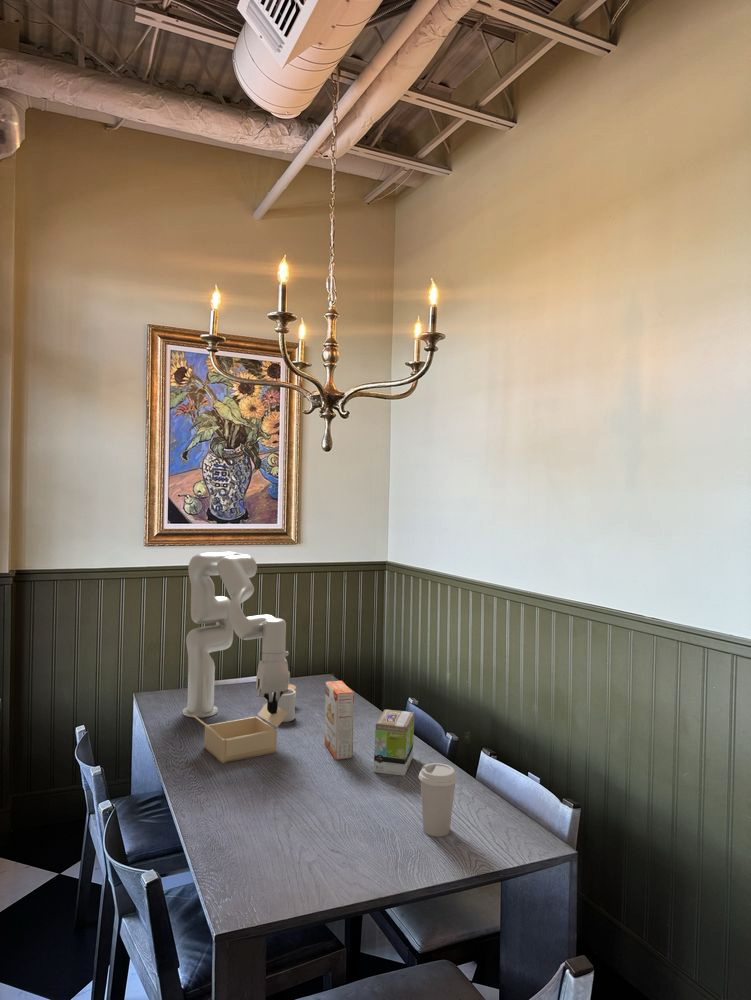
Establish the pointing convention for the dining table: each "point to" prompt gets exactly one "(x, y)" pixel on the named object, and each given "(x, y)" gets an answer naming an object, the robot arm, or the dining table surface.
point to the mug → (286, 704)
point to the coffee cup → (437, 797)
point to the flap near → (207, 726)
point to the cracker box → (339, 719)
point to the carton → (240, 739)
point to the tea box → (394, 742)
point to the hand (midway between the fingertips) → (272, 712)
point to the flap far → (273, 716)
